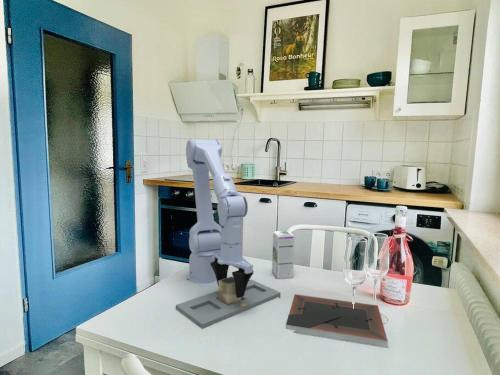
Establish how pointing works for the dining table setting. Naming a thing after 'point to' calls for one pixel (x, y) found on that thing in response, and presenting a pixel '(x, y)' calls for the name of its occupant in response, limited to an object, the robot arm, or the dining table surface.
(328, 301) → the picture frame
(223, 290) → the frame block
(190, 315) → the paneled door
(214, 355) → the dining table surface
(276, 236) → the syrup box
